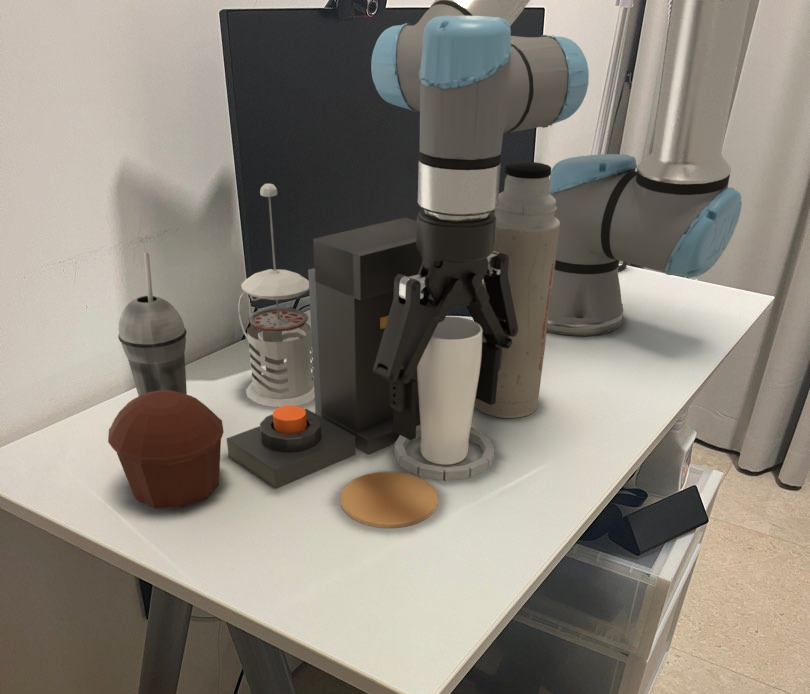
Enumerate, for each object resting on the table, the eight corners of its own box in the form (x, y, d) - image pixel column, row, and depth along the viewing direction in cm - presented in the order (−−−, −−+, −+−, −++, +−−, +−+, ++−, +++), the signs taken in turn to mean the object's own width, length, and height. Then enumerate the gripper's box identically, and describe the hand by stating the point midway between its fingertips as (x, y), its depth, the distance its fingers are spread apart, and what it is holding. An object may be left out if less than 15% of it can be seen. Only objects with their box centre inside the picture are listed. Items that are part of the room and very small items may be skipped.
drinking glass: (429, 475, 90) (434, 344, 81) (404, 446, 95) (406, 320, 86) (484, 463, 92) (495, 334, 83) (457, 436, 97) (465, 312, 88)
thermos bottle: (539, 393, 107) (568, 159, 90) (535, 421, 100) (565, 175, 84) (478, 386, 108) (495, 154, 92) (470, 414, 102) (487, 170, 85)
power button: (293, 416, 93) (292, 402, 92) (313, 427, 91) (312, 413, 90) (267, 426, 91) (266, 411, 90) (286, 438, 89) (285, 423, 88)
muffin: (250, 493, 86) (241, 406, 81) (150, 530, 81) (133, 440, 75) (196, 447, 94) (184, 365, 88) (102, 479, 88) (82, 393, 82)
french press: (279, 416, 100) (262, 199, 86) (220, 386, 107) (194, 180, 92) (338, 390, 106) (331, 184, 92) (279, 364, 113) (263, 166, 98)
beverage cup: (123, 435, 96) (87, 261, 84) (159, 408, 101) (130, 242, 90) (177, 447, 94) (149, 271, 82) (211, 419, 99) (189, 250, 88)
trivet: (392, 466, 91) (392, 461, 91) (457, 503, 86) (457, 498, 85) (321, 498, 86) (320, 493, 85) (385, 541, 80) (385, 536, 80)
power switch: (307, 426, 98) (305, 395, 96) (356, 455, 93) (355, 423, 91) (228, 457, 92) (224, 425, 90) (275, 489, 87) (273, 456, 85)
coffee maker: (389, 390, 107) (390, 212, 94) (518, 454, 94) (540, 259, 81) (308, 420, 100) (298, 233, 87) (437, 495, 87) (447, 288, 74)
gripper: (511, 184, 87) (494, 375, 100) (332, 223, 73) (338, 439, 86) (567, 198, 82) (542, 396, 95) (388, 242, 69) (387, 467, 82)
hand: (445, 417), depth 91 cm, fingers open, 12 cm apart
